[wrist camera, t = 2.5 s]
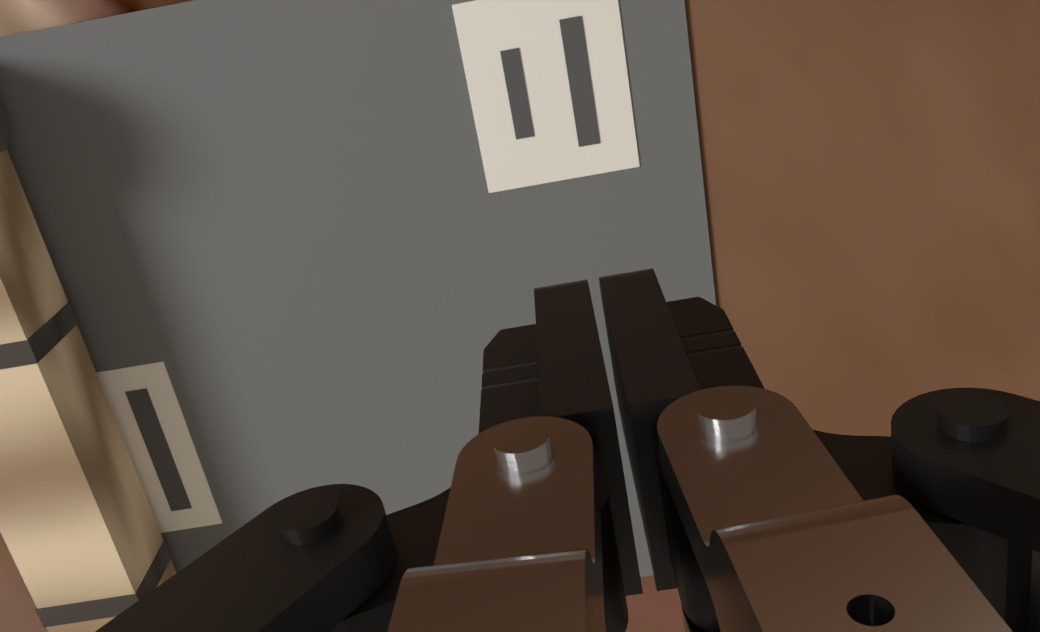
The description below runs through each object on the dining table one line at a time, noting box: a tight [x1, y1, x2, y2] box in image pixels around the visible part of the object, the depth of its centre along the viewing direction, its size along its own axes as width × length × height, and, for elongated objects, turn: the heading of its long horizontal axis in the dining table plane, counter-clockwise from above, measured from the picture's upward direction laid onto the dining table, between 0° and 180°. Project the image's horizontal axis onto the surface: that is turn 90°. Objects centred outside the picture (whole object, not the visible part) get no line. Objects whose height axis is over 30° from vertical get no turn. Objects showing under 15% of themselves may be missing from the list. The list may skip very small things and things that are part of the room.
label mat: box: [0, 0, 716, 631], centre depth 34 cm, size 24×28×1 cm
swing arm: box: [0, 101, 176, 632], centre depth 32 cm, size 23×4×4 cm, turn 10°
